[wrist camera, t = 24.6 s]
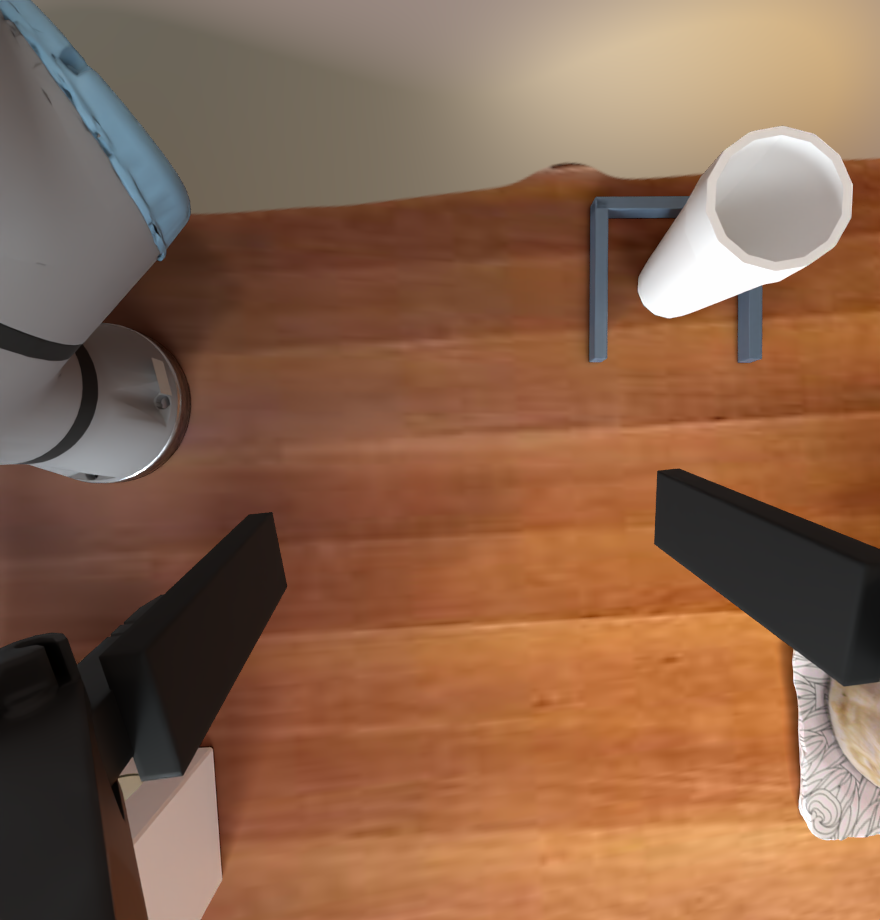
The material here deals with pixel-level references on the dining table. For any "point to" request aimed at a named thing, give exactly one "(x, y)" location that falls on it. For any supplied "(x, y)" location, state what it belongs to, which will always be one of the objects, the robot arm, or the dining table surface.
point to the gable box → (175, 838)
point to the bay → (599, 273)
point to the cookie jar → (837, 753)
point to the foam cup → (750, 221)
